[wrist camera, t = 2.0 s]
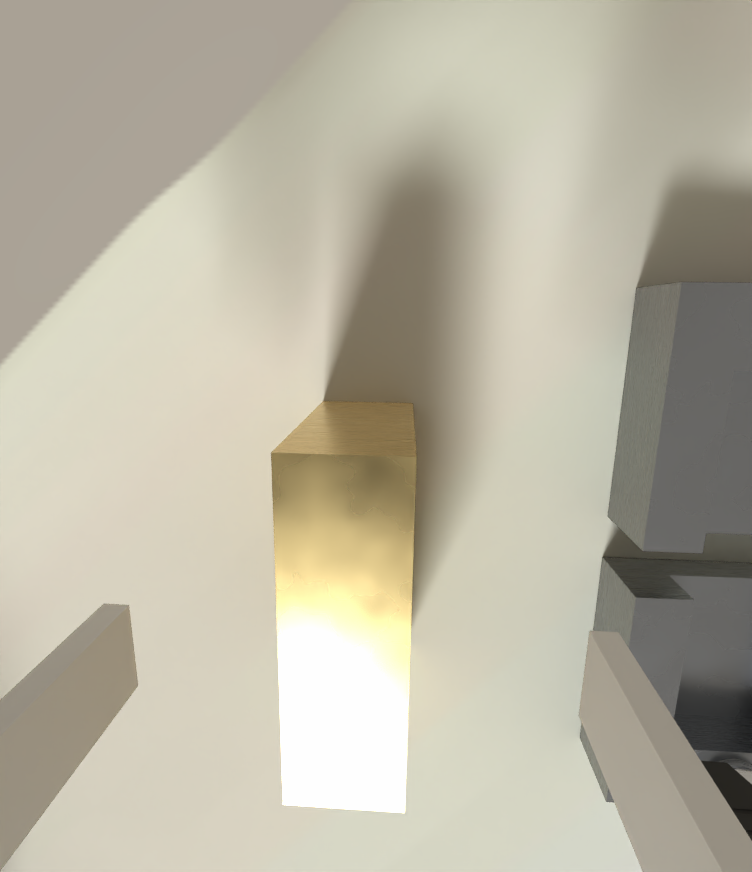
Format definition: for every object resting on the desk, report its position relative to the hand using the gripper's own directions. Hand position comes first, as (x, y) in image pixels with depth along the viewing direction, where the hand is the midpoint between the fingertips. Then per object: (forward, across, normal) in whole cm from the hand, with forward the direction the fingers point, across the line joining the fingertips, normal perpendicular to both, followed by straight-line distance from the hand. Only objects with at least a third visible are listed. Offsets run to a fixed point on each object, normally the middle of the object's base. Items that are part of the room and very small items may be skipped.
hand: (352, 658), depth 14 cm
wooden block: (+10, 0, 0) cm, 10 cm away
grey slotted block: (+10, -16, 0) cm, 18 cm away
